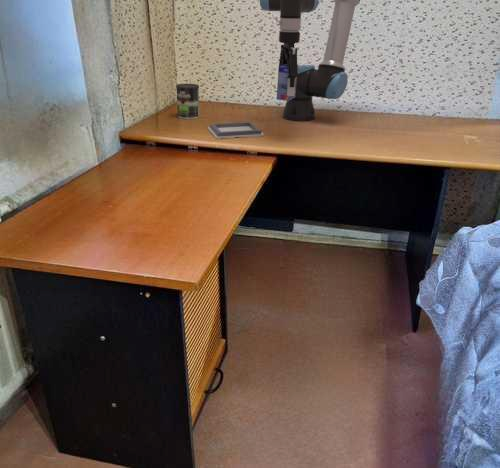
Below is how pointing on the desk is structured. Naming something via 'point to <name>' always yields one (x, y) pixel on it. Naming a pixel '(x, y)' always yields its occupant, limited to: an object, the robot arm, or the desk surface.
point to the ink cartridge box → (284, 83)
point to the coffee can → (188, 101)
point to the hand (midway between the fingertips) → (286, 93)
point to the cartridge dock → (234, 130)
